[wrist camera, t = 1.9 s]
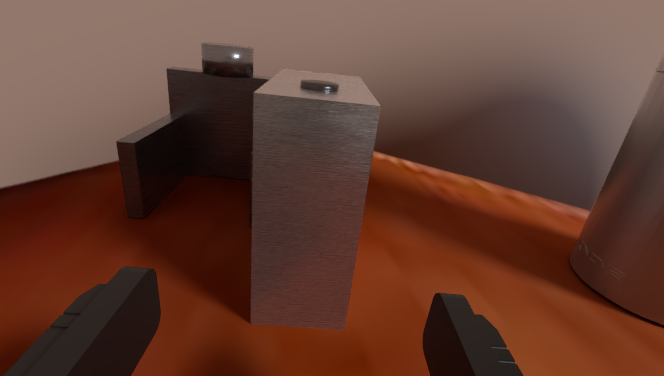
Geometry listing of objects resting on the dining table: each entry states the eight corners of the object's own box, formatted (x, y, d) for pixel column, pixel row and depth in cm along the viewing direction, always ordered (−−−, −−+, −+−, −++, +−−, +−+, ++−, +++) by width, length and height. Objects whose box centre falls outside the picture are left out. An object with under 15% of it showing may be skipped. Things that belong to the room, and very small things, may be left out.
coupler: (283, 170, 38) (290, 50, 33) (265, 228, 27) (270, 60, 22) (188, 161, 38) (180, 38, 33) (127, 217, 26) (100, 41, 21)
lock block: (339, 232, 28) (360, 72, 23) (344, 330, 19) (381, 99, 14) (276, 227, 27) (283, 64, 22) (250, 323, 18) (253, 86, 13)
